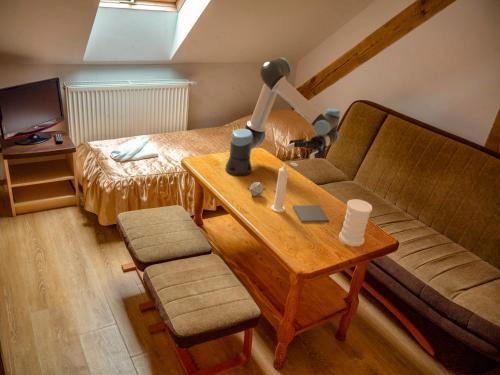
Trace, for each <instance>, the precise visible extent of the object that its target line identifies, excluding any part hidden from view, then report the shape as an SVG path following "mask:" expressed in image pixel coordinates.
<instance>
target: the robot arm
mask: <svg viewBox="0 0 500 375" xmlns="http://www.w3.org/2000/svg"><path fill="white" fill-rule="evenodd" d="M291 73H292V65H291V63H290V62H289V60H288V59H286V58H284V57H275V58H273V59H271V60H267V61H265V62H264V63H263V64H262V65H261V67H260V70H259V76H260V79H261V80H262V82H263V85H262V89H261V91H260V94H259V97H258V99H257V101H256V105H255V108H254V110H253V113H252V116H251V118H250V120H248V121H246V124H245V127H244V128H237V129H235V130H234V131H232V133H231V136H230V148H229V157H228V159H227V162H226V164H225V171H226V172H227V173H228V174H229V175H232V176H237V177H245V176H249V175H250V174H251V173H252V170H253V167H252V162H251V154H252V153H251V152H252V150H253V149H255V148H257V147H258V146H260V145H261V144H263V142H264V141H265V138H266V130H267V128H266V126H265V125H266V122H267V120H268V118H269V115H270V113H271V111H272V108H273V105H274V104H275V103H274V102H275V100H276V99H277V98H276V97H277V95H279V96H280V97H281V98H282V99H283V100H284V101H285V102H287V103H288V104H289V105H290V106H291V107H292V108H293V109H294V110H295V111H296V112H297V113H298V114H299V115H301V117H302V118H303V119H305V120H306V121H307V122H308V123H309V124H310V125H311V126H312V127H313V130H314V133H315V134H316V135H315V136H313V137H311V139H310V140H306V138H302V139H301V138H300V139H291V140H289V142H288V144H287V145H286V147H285V151H286V152H289V151H291V150H292V149H295V148H305V149H311V150H314V151H313V152H312V153H310V155H309V160H314V159H315V158H318V157H321V158H325V156H326V152H327V148H328V147H329V146H330V145H333V144H335V143H336V142H337V141H338V140H339V138H340V135H339V132H338V126H339V121H340V118H341V111H340V110H339V109H338V108H333V107H328V108H326V110H325V113H324V114H323V113H322V112H321V111H320V110H318V108H317V107H315V105H313V103H311V102H310V101H309V100H308V99H307V98H306V97H304V95H303V94H301V92H299V91H298V90H297V89H296V88H295V87H294V86H293V84H291V83H289V82H288V81H287V79H288V78H289V77H290V76H291Z"/></svg>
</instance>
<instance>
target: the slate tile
mask: <svg viewBox="0 0 500 375" xmlns="http://www.w3.org/2000/svg"><path fill="white" fill-rule="evenodd" d="M292 210H293V211H294V213H295V215H296V216H297V218H298V219H299V221H300V222H301V223H302V224H307V223H309V224H310V223H328V222H330V219H329V217H328V216H327V214H326V213H325V212H324V210H323V209H322V207H321V206H320V204H311V205H310V204H309V205H307V204H305V205H301V204H300V205H292Z"/></svg>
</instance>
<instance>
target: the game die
mask: <svg viewBox="0 0 500 375" xmlns="http://www.w3.org/2000/svg"><path fill="white" fill-rule="evenodd" d="M247 190H248V191H249V192H250V194H251V195H252V196H251V198H253V197H259V196H260V197H262V194H263V192H264V191H265V190H266V188H264V186H263V184H262V180H260V181H252V180H251V184H250V185H249V187H247Z"/></svg>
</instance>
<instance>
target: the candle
mask: <svg viewBox="0 0 500 375" xmlns="http://www.w3.org/2000/svg"><path fill="white" fill-rule="evenodd" d="M288 176H289V169H288V168H287V165H286V163H284V164H283V166H282V167H280V168H278V175H277V182H276V187H275V188H276V189H275V196H274V203H273V204H272V205H271V206H270V209H271V211H272V212H274V213H277V214H278V213H280V214H282V213H284V212H285V211H286V208H285V206H284V202H285V195H286V190H287V185H288V184H287V183H288Z"/></svg>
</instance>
